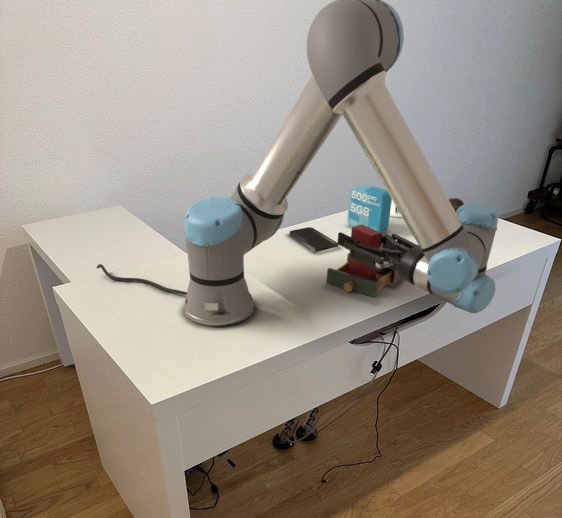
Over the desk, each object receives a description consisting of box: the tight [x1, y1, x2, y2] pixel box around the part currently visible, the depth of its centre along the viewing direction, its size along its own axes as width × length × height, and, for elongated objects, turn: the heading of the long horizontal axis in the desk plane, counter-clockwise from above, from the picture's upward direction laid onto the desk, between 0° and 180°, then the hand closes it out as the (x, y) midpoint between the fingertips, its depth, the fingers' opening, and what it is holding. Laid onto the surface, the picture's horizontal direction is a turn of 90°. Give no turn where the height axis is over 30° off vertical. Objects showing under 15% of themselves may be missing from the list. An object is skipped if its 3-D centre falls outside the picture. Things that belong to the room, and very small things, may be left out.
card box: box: [348, 225, 382, 281], centre depth 126 cm, size 6×3×13 cm, turn 35°
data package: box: [347, 183, 392, 234], centre depth 159 cm, size 12×4×12 cm, turn 45°
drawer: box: [326, 261, 393, 299], centre depth 130 cm, size 17×13×5 cm
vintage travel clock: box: [448, 197, 465, 212], centre depth 163 cm, size 7×13×10 cm
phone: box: [289, 226, 339, 254], centre depth 153 cm, size 8×1×15 cm
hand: (350, 235), depth 127 cm, fingers open, 6 cm apart
